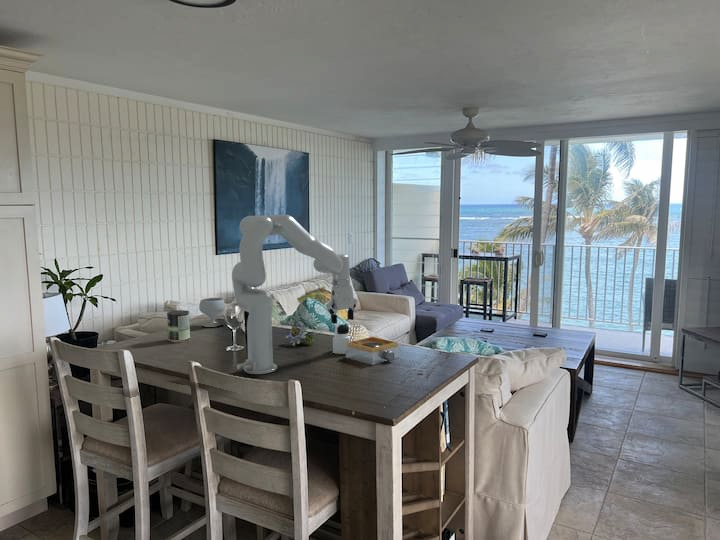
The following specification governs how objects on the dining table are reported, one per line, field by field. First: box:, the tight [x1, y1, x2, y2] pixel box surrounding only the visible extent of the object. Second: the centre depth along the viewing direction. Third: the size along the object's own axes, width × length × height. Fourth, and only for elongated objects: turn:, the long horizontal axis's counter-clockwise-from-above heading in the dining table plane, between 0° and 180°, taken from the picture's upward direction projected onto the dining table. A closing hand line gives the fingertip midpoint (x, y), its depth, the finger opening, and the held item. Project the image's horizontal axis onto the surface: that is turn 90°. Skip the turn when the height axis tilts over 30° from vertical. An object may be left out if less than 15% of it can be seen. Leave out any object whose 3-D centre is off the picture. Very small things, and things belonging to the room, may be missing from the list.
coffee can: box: [166, 309, 191, 340], centre depth 249 cm, size 10×10×14 cm
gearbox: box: [345, 336, 400, 366], centre depth 214 cm, size 16×19×6 cm
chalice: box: [198, 297, 226, 324], centre depth 282 cm, size 14×14×15 cm
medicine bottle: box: [332, 324, 350, 355], centre depth 224 cm, size 7×7×12 cm
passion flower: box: [285, 322, 316, 347], centre depth 239 cm, size 11×11×12 cm
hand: (342, 321), depth 223 cm, fingers open, 9 cm apart
